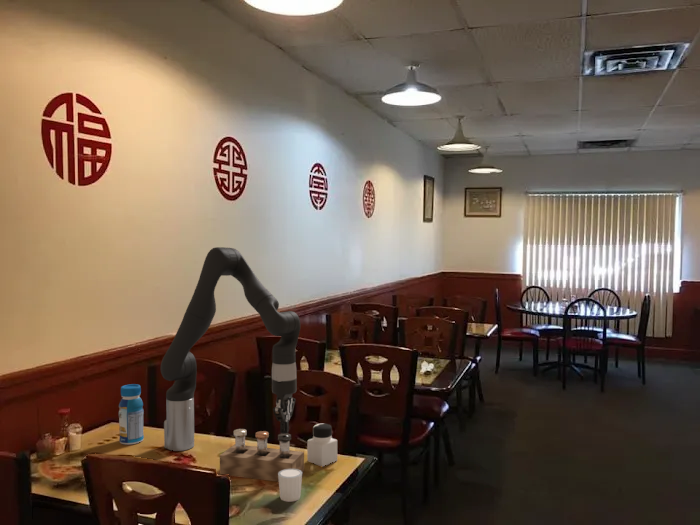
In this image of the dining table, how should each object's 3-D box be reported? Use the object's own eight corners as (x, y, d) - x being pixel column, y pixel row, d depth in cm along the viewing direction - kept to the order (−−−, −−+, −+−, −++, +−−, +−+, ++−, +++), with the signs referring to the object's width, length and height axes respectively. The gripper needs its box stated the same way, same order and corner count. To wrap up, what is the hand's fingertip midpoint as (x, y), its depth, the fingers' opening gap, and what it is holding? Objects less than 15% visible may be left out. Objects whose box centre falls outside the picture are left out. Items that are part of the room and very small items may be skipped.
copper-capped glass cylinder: (253, 457, 183) (253, 434, 183) (259, 453, 187) (258, 430, 187) (265, 458, 182) (265, 435, 182) (270, 454, 186) (270, 431, 186)
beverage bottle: (139, 445, 209) (138, 389, 208) (115, 445, 209) (114, 389, 208) (147, 437, 217) (146, 383, 217) (124, 437, 218) (123, 383, 217)
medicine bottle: (337, 461, 194) (337, 424, 194) (322, 467, 189) (322, 430, 189) (322, 455, 199) (322, 420, 199) (306, 461, 194) (306, 425, 194)
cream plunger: (231, 455, 185) (231, 432, 185) (237, 450, 189) (237, 428, 189) (243, 456, 184) (243, 433, 184) (248, 452, 188) (248, 429, 188)
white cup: (292, 504, 163) (292, 479, 162) (273, 498, 166) (272, 474, 166) (307, 495, 168) (307, 471, 168) (288, 490, 172) (288, 466, 172)
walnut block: (219, 474, 184) (219, 455, 183) (234, 462, 193) (234, 444, 193) (292, 483, 177) (292, 463, 177) (304, 470, 186) (304, 451, 186)
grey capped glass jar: (276, 460, 181) (275, 436, 181) (281, 455, 185) (281, 432, 185) (288, 461, 180) (288, 438, 180) (293, 456, 184) (293, 433, 184)
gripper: (281, 371, 189) (281, 425, 190) (263, 381, 176) (264, 438, 177) (303, 373, 187) (303, 427, 188) (287, 382, 174) (287, 441, 175)
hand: (284, 432), depth 182 cm, fingers closed
